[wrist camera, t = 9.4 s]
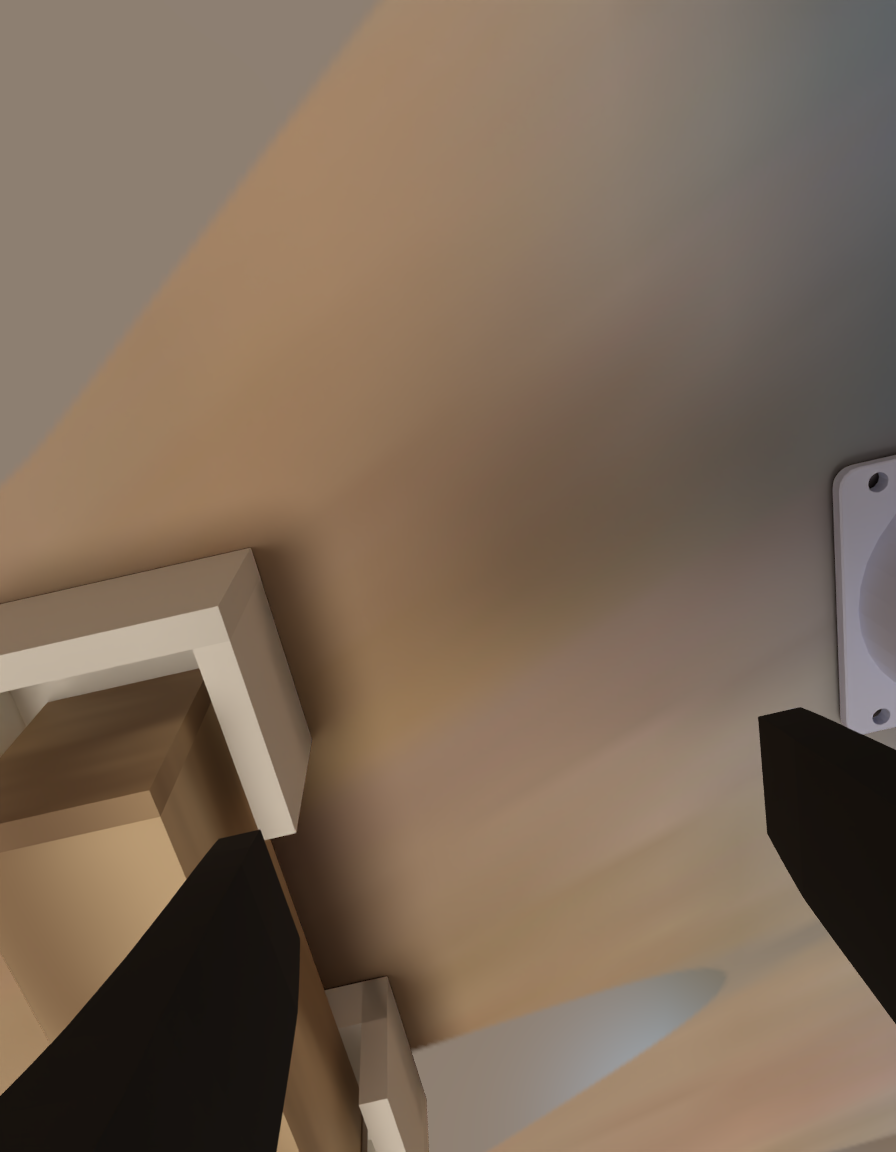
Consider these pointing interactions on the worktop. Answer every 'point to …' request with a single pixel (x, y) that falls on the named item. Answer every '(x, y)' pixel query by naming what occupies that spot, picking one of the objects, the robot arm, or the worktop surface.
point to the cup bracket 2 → (381, 1066)
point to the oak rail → (140, 868)
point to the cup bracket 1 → (170, 664)
